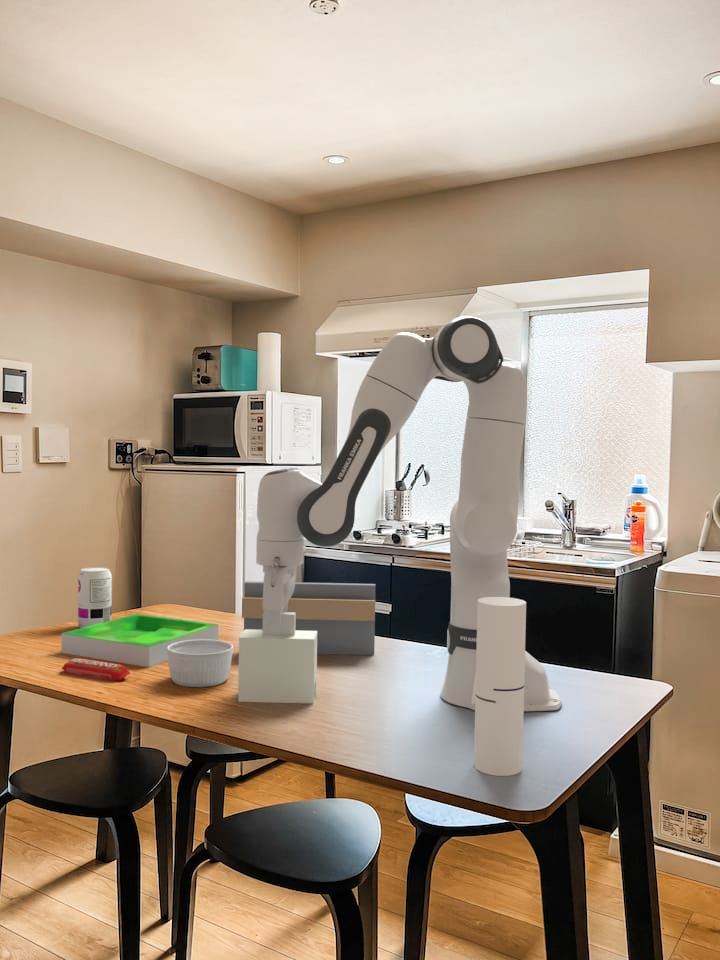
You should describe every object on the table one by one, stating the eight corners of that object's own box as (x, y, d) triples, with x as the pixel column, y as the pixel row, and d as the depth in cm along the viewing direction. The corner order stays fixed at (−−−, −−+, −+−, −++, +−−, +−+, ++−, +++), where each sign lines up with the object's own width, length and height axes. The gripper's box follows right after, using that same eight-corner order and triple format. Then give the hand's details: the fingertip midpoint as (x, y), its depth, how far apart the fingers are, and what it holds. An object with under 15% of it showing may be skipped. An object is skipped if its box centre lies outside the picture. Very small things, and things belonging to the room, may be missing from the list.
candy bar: (58, 674, 172) (58, 659, 172) (71, 669, 175) (71, 655, 175) (120, 684, 165) (120, 669, 165) (132, 679, 169) (132, 665, 168)
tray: (149, 669, 177) (149, 646, 177) (61, 655, 188) (61, 633, 188) (218, 644, 199) (218, 624, 199) (136, 633, 210) (136, 613, 210)
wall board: (374, 648, 196) (375, 581, 196) (374, 658, 187) (375, 587, 187) (247, 645, 197) (248, 578, 196) (241, 655, 188) (242, 584, 187)
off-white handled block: (316, 692, 161) (317, 610, 160) (313, 703, 154) (314, 617, 153) (244, 690, 161) (245, 608, 161) (238, 701, 154) (239, 616, 154)
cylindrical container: (522, 777, 121) (526, 607, 120) (473, 773, 122) (476, 604, 121) (521, 759, 128) (525, 598, 127) (474, 755, 129) (478, 595, 128)
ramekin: (214, 668, 177) (214, 635, 177) (245, 682, 167) (245, 648, 167) (155, 677, 169) (156, 644, 169) (184, 693, 159) (184, 657, 159)
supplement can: (73, 630, 210) (73, 571, 209) (85, 623, 218) (85, 566, 218) (104, 631, 210) (105, 572, 209) (115, 624, 218) (115, 567, 217)
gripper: (290, 562, 146) (289, 640, 147) (301, 548, 167) (300, 616, 167) (254, 561, 146) (253, 639, 147) (270, 547, 167) (269, 615, 167)
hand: (278, 627), depth 157 cm, fingers open, 8 cm apart
